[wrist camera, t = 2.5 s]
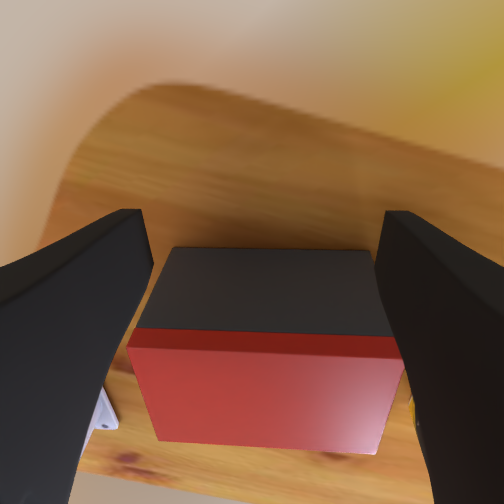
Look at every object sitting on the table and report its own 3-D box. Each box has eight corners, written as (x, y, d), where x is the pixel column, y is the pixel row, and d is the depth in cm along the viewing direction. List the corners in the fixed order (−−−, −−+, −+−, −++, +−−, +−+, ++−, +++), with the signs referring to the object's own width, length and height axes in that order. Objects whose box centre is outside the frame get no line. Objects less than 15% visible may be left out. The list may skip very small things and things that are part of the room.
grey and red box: (189, 334, 22) (157, 441, 17) (172, 246, 18) (124, 347, 13) (352, 340, 21) (376, 454, 16) (370, 249, 18) (408, 358, 12)
